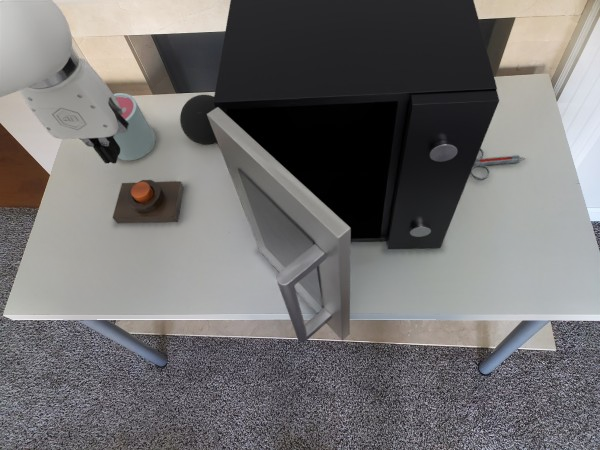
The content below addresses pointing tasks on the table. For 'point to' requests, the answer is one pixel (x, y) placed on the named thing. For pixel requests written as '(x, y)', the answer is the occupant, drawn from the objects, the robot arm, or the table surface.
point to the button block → (150, 203)
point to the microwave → (364, 105)
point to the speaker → (198, 119)
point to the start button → (142, 192)
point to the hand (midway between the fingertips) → (113, 156)
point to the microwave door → (290, 231)
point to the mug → (133, 130)
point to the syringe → (494, 162)
